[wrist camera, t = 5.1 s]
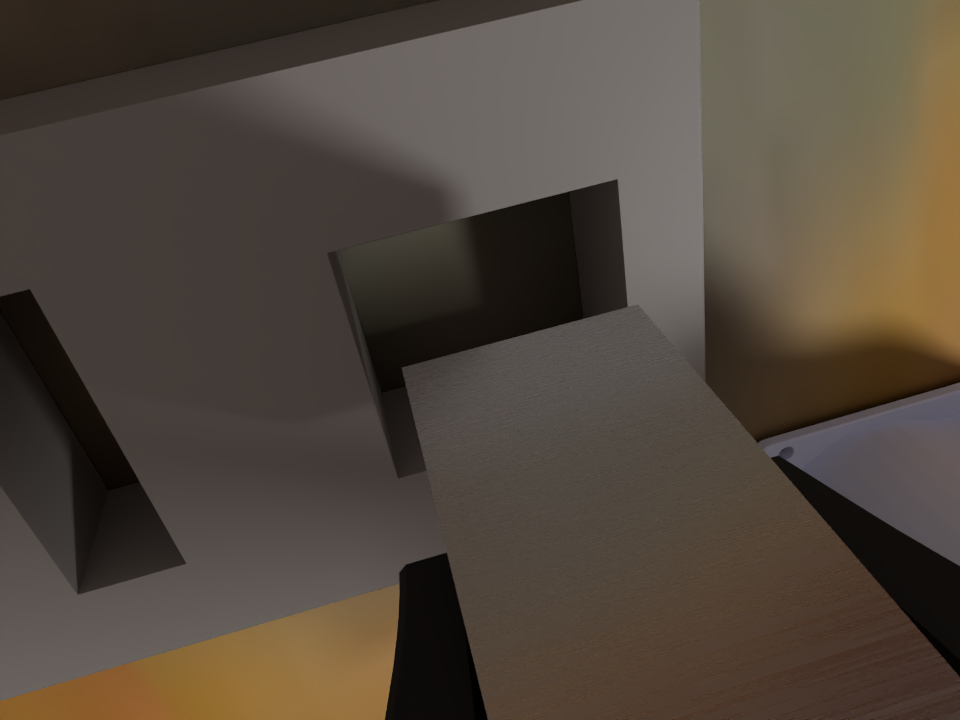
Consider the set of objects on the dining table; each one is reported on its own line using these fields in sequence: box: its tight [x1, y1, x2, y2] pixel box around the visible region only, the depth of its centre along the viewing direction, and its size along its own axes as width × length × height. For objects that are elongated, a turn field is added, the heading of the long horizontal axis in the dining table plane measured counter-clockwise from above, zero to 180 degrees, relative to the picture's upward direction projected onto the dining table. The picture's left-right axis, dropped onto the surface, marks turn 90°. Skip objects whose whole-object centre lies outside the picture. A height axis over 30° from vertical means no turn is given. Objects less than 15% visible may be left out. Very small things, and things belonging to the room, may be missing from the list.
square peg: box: [402, 304, 960, 720], centre depth 10 cm, size 4×4×8 cm
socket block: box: [0, 0, 706, 701], centre depth 17 cm, size 18×12×4 cm, turn 99°
